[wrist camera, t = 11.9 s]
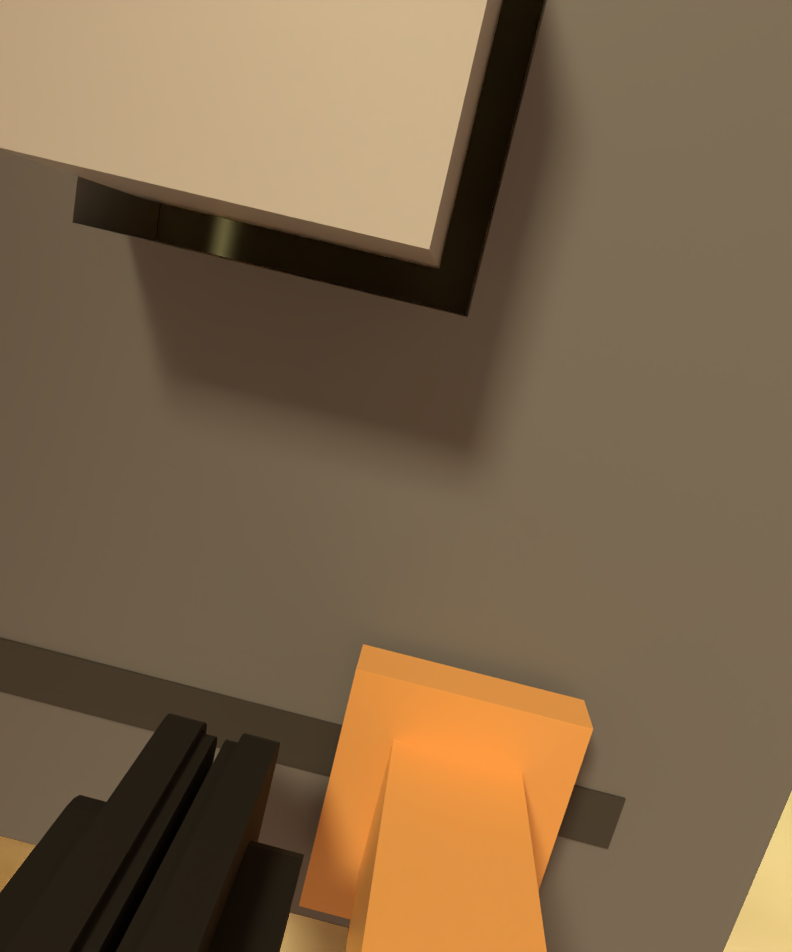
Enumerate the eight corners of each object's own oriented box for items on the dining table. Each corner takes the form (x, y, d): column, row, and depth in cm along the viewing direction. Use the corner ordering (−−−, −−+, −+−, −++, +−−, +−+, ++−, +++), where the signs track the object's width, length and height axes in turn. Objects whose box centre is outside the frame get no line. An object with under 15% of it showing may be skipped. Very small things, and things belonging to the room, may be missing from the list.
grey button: (194, -149, 10) (34, -423, 6) (521, -76, 10) (559, -311, 6) (145, 199, 11) (-16, 143, 8) (439, 269, 11) (429, 249, 7)
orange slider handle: (363, 644, 11) (289, 908, 6) (583, 700, 11) (683, 1012, 6) (308, 868, 13) (207, 1246, 8) (510, 921, 12) (546, 1341, 7)
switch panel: (-168, -963, 10) (-424, -1482, 7) (1257, -686, 10) (1611, -1126, 7) (-212, 664, 16) (-358, 743, 13) (650, 888, 16) (695, 1021, 13)
